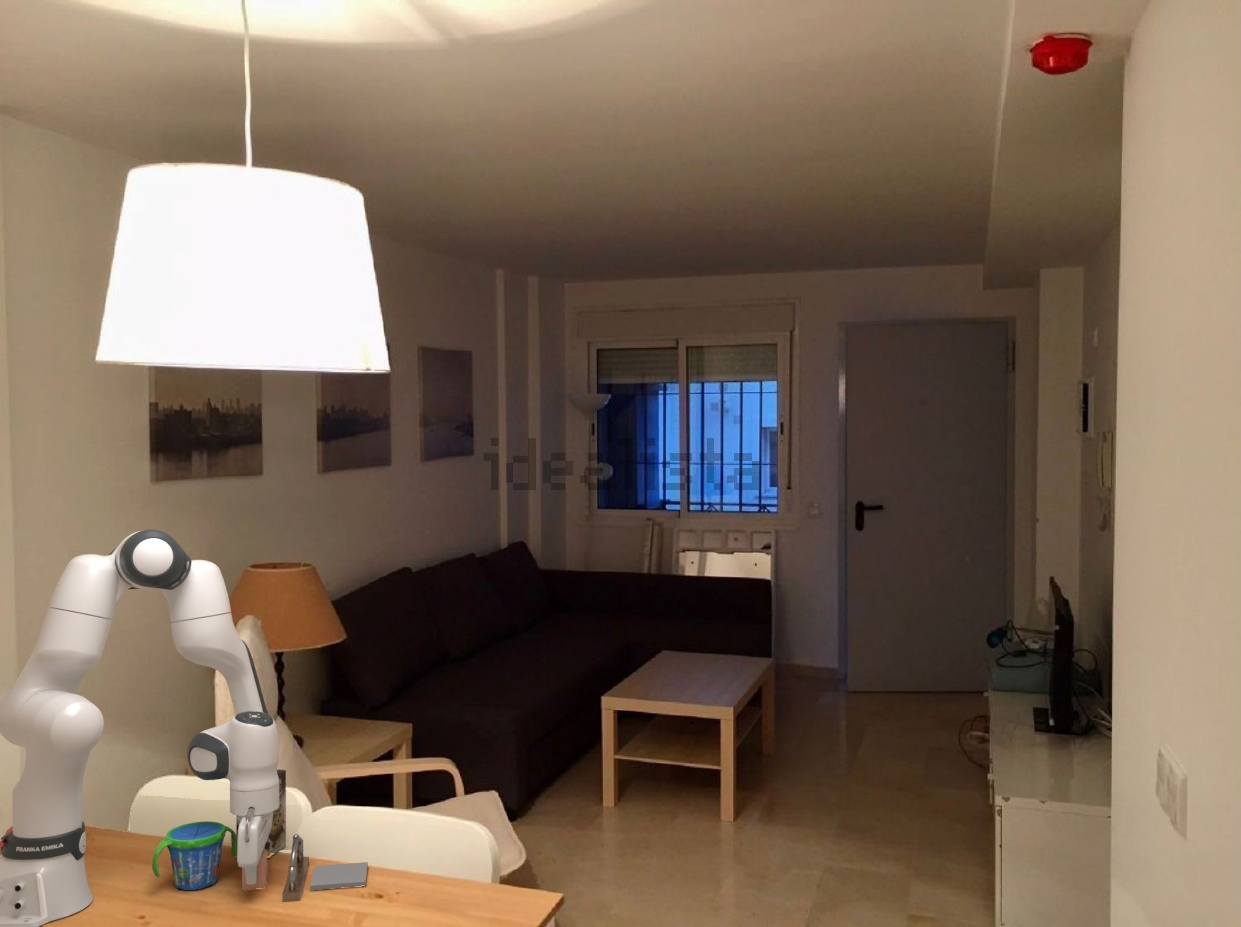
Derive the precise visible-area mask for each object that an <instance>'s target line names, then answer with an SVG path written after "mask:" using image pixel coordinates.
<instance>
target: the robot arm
mask: <svg viewBox="0 0 1241 927" xmlns="http://www.w3.org/2000/svg"><path fill="white" fill-rule="evenodd" d="M141 589H142V590H152V589H156V590H158V591H159V592H161V593H162V594H163V596H164V597H165V599H166V602H167V605H168V608H169V609H168V610H169V621H170V629H171V635H172V636H171V638H172V641H173V644H174V647H175V649H176V651H177V653H178V654H180V655H181V656H182V657H183V658H185V659H186V660H187V661H189V662H190V663H193V664H197V665H200V666H203V667H209V668H211V669H214V670H216V671H217V672H219V674H221V675H222V676H223V677H224V679H225V681H226V684H227V686H228V687H227V688H228V691H229V694H230V700H231V702H232V706H233V710H234V713H235V714H234V716H233V717H232V718H231V719H230V720H228V721H226V722H225V723H222V724H220V725H217V726H213V727H210V728H208V729H205V730H203V731H201V732H198V733H196V734H195V735H194V736H193V737H192V738H191V740H190V742H189V744H188V747H187V754H186V755H187V756H186V757H187V763H188V766H189V769H190V770H191V772H192V773H193V774H194V775H195V776H196V777H197V778H198V779H200V780H202V781H217V780H222V779H223V780H224V779H226V780H229V812H230V813H231V814H232V815H234V816H237V820H238V821H239V822H240V824H239V828H238V842H237V860H236V862H237V866H238V867H239V868H242V867H244V870H245V874H246V884H248V885H249V884H255V883H256V881H257V865H258V863H259V860H260V858H261V855H262V852H263V850H265V844H266V842H267V839H268V836H269V834H270V831H271V827H272V821H273V811H275V810H277V809H278V808H279V777H278V774H277V770H278V765H279V761H280V746H279V745H280V743H279V741H280V740H279V732H278V727H277V724H276V721H275V719H274V717H273V716H271V715H269V712H268V709H267V707H266V706H267V705H266V702H265V699H264V694H263V692H262V688H261V684H260V680H259V677H258V673H257V670H256V666H255V662H254V658H253V656H252V654H251V651H250V648H249V646H248V645H247V643H246V641H244V640H243V639H241V637H240V635H239V634H238V631H237V629H236V627H235V624H234V621H233V615H232V609H231V604H230V597H229V594H228V590H227V586H226V582H225V579H224V577H223V574H222V571H221V569H220V567H219V566H218V565H217V564H215V563H214V562H212V561H209V560H205V559H191V557H190V556H189V555H188V554H187V552H186V551H185V549H183V547H182V546H181V545H180V543H179V542H178V541H177V540H176V538H174V537H173V536H171V535H170V534H169V533H167V532H166V531H162V530H159V529H154V528H153V529H150V528H149V529H144V530H139V531H136V532H133V533H131V534H130V535H128V536H126V537H125V538H124V539H123V540H122V541H121V542H120V543H119V544H118V545H117V546H116V547H115V548H114V549H113V550H112V551H110V553H109V554H108V555H100V554H94V553H93V554H92V553H89V554H88V553H86V554H80V555H78V556H75V557H73V558H72V559H71V560H70V561H69V562H68V563H67V565H66V566H65V568H64V570H63V571H62V574H61V576H60V578H58V581H57V584H56V586H55V588H54V590H53V592H52V595H51V598H50V600H49V603H48V606H47V609H46V613H45V616H44V619H43V622H42V625H41V628H40V631H39V635H38V636H37V640H36V643H35V645H34V647H33V650H32V652H31V654H30V656H29V658H28V660H27V662H26V664H25V665H24V667H23V668H22V670H21V672H20V674H19V675H18V677H17V678H16V681H15V682H14V683H13V685H12V687H11V688H9V690H8V691H6V692H4V694H2V695H1V696H0V735H1V736H2V737H3V738H4V739H5V740H6V741H7V742H9V743H10V744H11V745H14V746H19V747H22V748H24V749H25V762H24V765H23V766H24V767H23V769H22V774H21V776H20V779H19V780H18V781H17V782H16V784H15V785H14V786H13V789H12V826H10V827H9V828H8V829H7V830H6V831H5V834H4V835H3V836H2V837H1V838H0V852H1V854H0V927H40V926H43V925H45V924H47V923H50V922H52V921H55V920H59V919H63V918H66V917H68V916H71V915H74V914H76V913H78V912H80V911H82V910H83V909H85V908H87V907H88V906H89V905H90V904H91V903H92V902H93V901H94V900H93V899H94V897H93V894H92V891H91V888H90V885H89V882H88V877H87V872H86V871H87V870H86V864H85V853H86V847H87V844H86V843H87V834H86V824H85V821H83V787H84V786H83V784H84V777H85V772H86V767H87V764H88V761H89V756H90V754H91V752H92V749H94V747H95V746H96V745H97V744H98V743H99V741H100V739H102V735H103V733H104V728H105V719H104V716H103V713H102V712H101V709H100V708H99V707H98V706H96V705H95V704H94V703H93V702H92V701H90V700H89V699H87V698H85V697H84V696H83V695H81V694H80V695H79V694H76V693H77V690H78V688H80V685H81V684H82V682H83V680H84V679H85V677H86V676H87V675H88V673H89V672H91V670H92V669H93V668H95V667H96V666H97V665H98V664H99V663H100V661H101V659H102V656H103V652H104V649H105V646H106V643H107V640H108V638H109V637H108V636H109V632H110V630H111V627H112V624H113V619H114V615H115V612H116V609H117V606H118V604H119V601H120V599H121V597H122V595H124V593H125V592H126V591H127V590H141Z"/></svg>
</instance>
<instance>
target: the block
mask: <svg viewBox="0 0 1241 927" xmlns="http://www.w3.org/2000/svg"><path fill="white" fill-rule="evenodd" d="M241 875H242V876H241V881H242V882H241V891H242V890H244V891H251V890H250V889H256V888H264V887H265V888H266V886H267V884H266V882H267V883H268V881H267V879H268V860H267V849H265V850H263V852H262V855H261V858H260V860H259V863H258V865H257V881H256V883H255V884H249V885H248V884H246V874H245V870H244V867H241ZM265 885H266V886H265Z"/></svg>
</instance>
